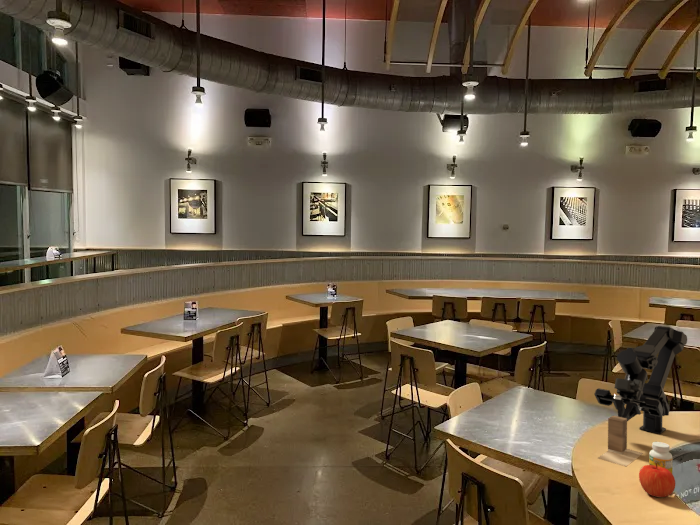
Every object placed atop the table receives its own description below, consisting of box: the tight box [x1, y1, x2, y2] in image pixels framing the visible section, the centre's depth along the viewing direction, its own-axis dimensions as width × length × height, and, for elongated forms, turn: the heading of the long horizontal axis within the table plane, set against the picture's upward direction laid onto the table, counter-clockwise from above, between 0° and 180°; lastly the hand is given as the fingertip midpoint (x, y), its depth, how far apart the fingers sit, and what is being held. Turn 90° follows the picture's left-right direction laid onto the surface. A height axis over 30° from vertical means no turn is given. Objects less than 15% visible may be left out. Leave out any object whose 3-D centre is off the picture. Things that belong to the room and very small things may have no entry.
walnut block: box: [607, 415, 628, 455], centre depth 157 cm, size 4×4×10 cm
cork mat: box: [597, 448, 644, 467], centre depth 154 cm, size 14×8×1 cm, turn 133°
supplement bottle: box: [648, 441, 674, 474], centre depth 139 cm, size 5×5×10 cm
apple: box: [638, 463, 676, 498], centre depth 130 cm, size 8×8×8 cm
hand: (620, 425), depth 159 cm, fingers closed
